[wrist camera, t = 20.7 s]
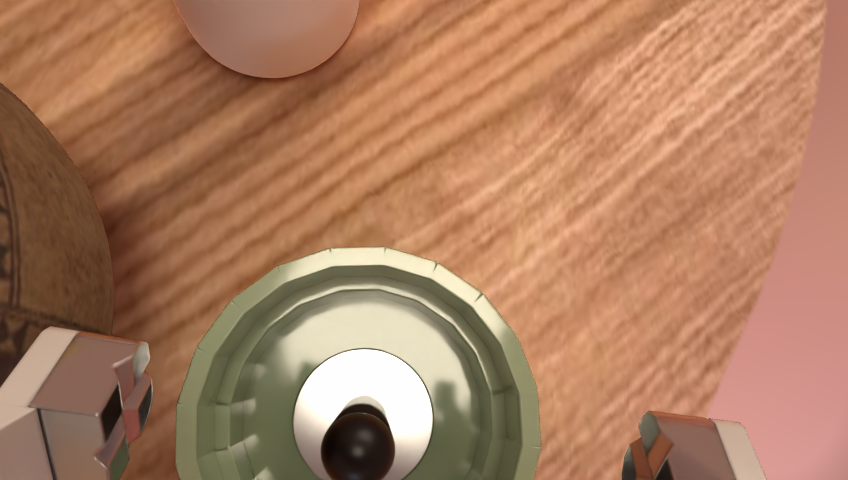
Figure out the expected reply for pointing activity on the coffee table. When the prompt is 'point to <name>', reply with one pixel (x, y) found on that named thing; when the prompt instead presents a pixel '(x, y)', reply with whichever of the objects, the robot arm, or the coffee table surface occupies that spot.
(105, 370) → the robot arm
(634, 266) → the coffee table surface
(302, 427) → the meat pounder
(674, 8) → the coffee table surface
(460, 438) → the bowl
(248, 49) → the cup
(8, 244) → the vase
